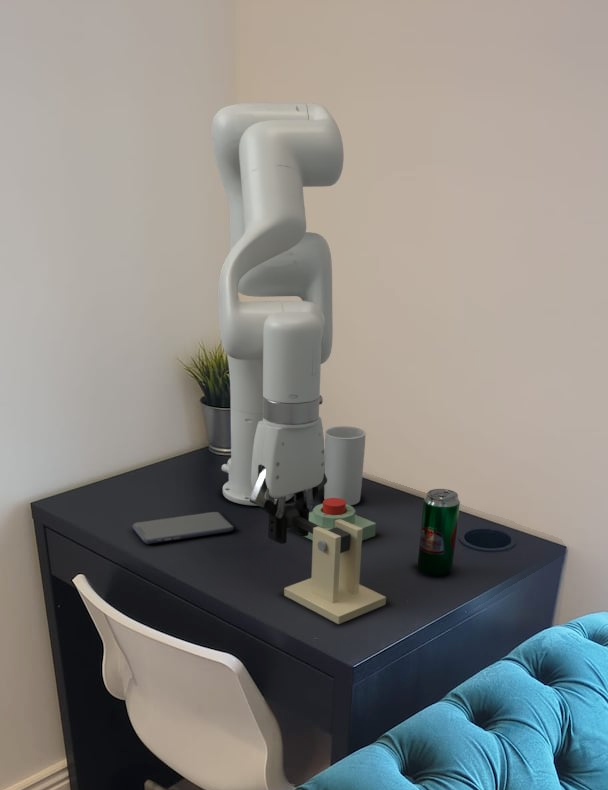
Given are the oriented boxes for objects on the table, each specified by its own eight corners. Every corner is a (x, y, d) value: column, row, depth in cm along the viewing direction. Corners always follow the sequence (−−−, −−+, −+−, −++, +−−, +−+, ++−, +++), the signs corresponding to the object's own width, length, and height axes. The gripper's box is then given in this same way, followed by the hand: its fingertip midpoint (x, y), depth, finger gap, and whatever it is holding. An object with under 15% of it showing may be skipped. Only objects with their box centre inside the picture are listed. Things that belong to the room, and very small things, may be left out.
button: (317, 511, 153) (318, 501, 153) (334, 506, 155) (334, 496, 155) (333, 518, 151) (334, 507, 150) (350, 512, 153) (350, 502, 152)
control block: (291, 530, 156) (291, 507, 154) (331, 517, 161) (332, 494, 159) (334, 550, 149) (335, 526, 147) (375, 535, 154) (376, 512, 152)
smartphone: (235, 527, 155) (144, 540, 150) (235, 532, 155) (145, 546, 150) (218, 510, 161) (131, 522, 156) (218, 516, 161) (131, 528, 156)
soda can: (410, 570, 143) (417, 493, 137) (430, 560, 146) (438, 484, 140) (438, 581, 140) (446, 503, 134) (458, 570, 143) (467, 493, 137)
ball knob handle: (270, 526, 138) (271, 503, 136) (288, 520, 140) (289, 498, 138) (334, 558, 129) (336, 535, 128) (352, 552, 131) (354, 529, 130)
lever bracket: (283, 595, 136) (285, 524, 131) (330, 577, 141) (333, 508, 136) (338, 624, 129) (342, 550, 123) (385, 604, 134) (391, 532, 128)
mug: (367, 505, 166) (371, 437, 160) (329, 508, 164) (332, 439, 158) (348, 485, 174) (351, 419, 168) (312, 488, 173) (314, 422, 167)
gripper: (317, 393, 136) (313, 515, 145) (224, 415, 127) (226, 543, 136) (355, 405, 131) (348, 530, 140) (261, 428, 122) (260, 560, 131)
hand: (288, 535), depth 138 cm, fingers closed on ball knob handle, 3 cm apart
